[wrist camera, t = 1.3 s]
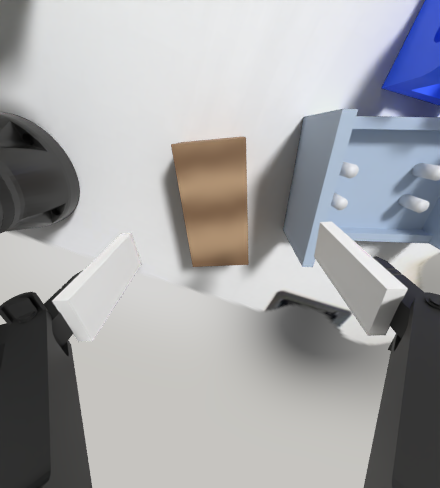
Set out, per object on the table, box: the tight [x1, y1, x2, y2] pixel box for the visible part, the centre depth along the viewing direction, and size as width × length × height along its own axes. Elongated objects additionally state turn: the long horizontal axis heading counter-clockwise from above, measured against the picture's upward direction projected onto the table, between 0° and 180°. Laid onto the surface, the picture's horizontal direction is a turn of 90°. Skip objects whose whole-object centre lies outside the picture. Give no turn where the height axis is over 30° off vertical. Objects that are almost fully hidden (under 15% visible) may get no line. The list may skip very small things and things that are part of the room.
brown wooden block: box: [171, 137, 248, 267], centre depth 28 cm, size 16×8×6 cm, turn 5°
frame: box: [283, 109, 440, 267], centre depth 24 cm, size 21×15×10 cm
